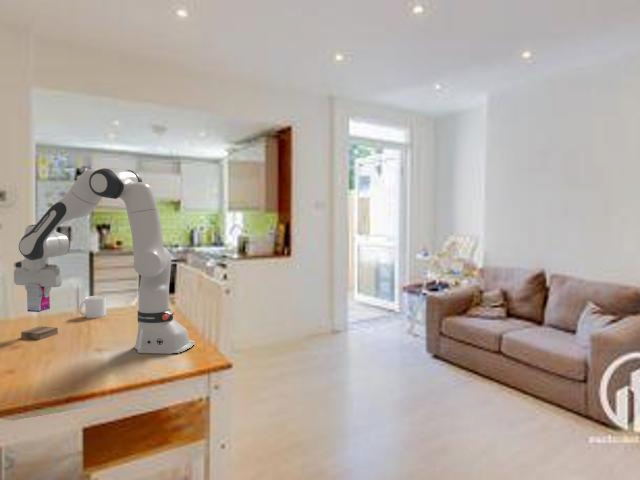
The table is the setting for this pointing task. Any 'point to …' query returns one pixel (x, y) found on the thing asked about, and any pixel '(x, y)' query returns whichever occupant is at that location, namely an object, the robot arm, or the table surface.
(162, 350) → the robot arm
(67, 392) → the table surface
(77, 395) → the table surface
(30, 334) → the base slab
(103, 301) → the mug
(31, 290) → the supplement box
